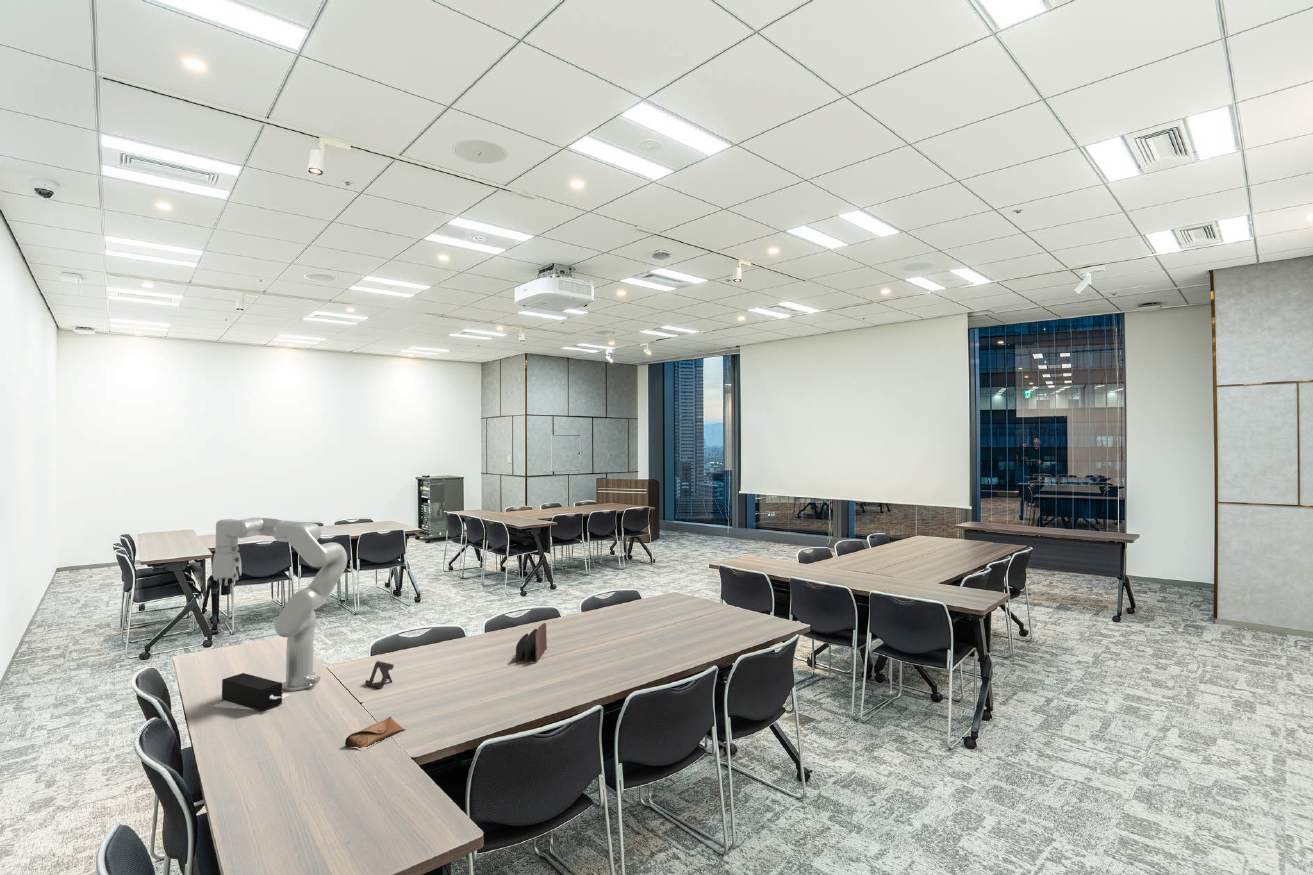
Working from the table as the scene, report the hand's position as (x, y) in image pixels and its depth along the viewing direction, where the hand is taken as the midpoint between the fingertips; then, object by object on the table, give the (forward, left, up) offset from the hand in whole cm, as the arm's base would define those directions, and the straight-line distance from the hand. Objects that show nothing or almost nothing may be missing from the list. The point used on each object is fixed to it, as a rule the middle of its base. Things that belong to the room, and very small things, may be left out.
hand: (225, 594), depth 251 cm
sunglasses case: (-89, +33, -38) cm, 102 cm away
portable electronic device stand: (-62, -11, -37) cm, 73 cm away
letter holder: (-111, -54, -38) cm, 129 cm away
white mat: (-24, +12, -37) cm, 46 cm away
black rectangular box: (-13, +10, -33) cm, 36 cm away
